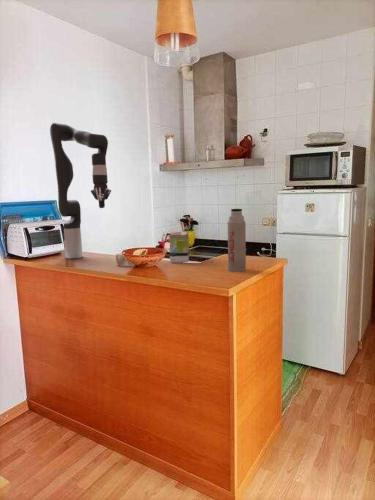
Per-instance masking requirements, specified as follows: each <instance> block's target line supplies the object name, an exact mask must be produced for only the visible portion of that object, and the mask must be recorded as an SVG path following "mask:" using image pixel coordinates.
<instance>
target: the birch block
mask: <svg viewBox="0 0 375 500" xmlns="http://www.w3.org/2000/svg"><path fill="white" fill-rule="evenodd" d="M122 252H123V251H121V252H119V253H116V254H115V260H116V261H115V262H116V266H117V265H120V266H119V267H122V266H123V267H124V266H125V267H135V266H134V265H133V264H132V263H130V262H129V261H128V260H127V259H125V257H124V256H123V255H122Z"/></svg>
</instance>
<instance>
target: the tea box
mask: <svg viewBox="0 0 375 500" xmlns="http://www.w3.org/2000/svg"><path fill="white" fill-rule="evenodd" d="M189 236H190V233H189V231H171V232H170V233H169V263H175V264H176V263H177V264H178V263H189V260H190V238H189Z"/></svg>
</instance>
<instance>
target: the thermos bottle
mask: <svg viewBox="0 0 375 500" xmlns="http://www.w3.org/2000/svg"><path fill="white" fill-rule="evenodd" d="M246 228H247V227H246V221H245V217H244V215H243V208H231V210H230V215H229V216H228V221H227V247H228V248H227V266H228V267H227V268H228V271H229V272H233V273H235V272H236V273H239V272H245V271H246V270H247V267H246V266H247V265H246V263H247V259H246V257H247V255H246V254H247V253H246V250H247V249H246V246H247V245H246V244H247V243H246V242H247V241H246V237H247V236H246V233H247V232H246V231H247V230H246Z"/></svg>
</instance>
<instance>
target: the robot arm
mask: <svg viewBox="0 0 375 500" xmlns="http://www.w3.org/2000/svg"><path fill="white" fill-rule="evenodd" d="M49 127H50V128H49V133H50V140H51V144H52V150H53V156H54V166H55V175H56V183H57V192H58V193H57V199H58V202H57V203H58V211H59V215H60V216H61V217H64V218H65V217H70V219H69V220H67V221H66V222H64V223H63V224H62V225H63V237H64V241H63V248H64V257H65V259H80V258H82V257H83V244H82V233H81V232H82V230H81V223H82V218H81V217H82V216H81V215H82V214H81V213H82V212H81V204H80V202H79V201H78V200H77V199H68V191H69V188H70V186H71V184H72V181H73V179H74V168H73V167H74V165H73V164H72V161H71V159H70V158H69V157H68V155H67V154H66V152H65V150H64V148H63V143H62V142H76V143H77V144H79V145H81V146H85V147H88V148H90V149H97V152H96V153H92V154H91V176H92V177H91V178H92V184H93V189H92V190H91V189H90V193H91V195H92V196H93V197H94V199H95V200H96V201H98V207H99V209H104V208H105V206H106V204H105V203H106V202H105V201H106V200H108V198H109V197H110V194H111V192H112V190H111V189H109V188H108V170H107V161H106V160H107V159H106V158H107V157H106V155H107V151H108V147H109V146H108V145H109V141H108V138H107V136H106V135H103V134H97V133H91V132H89V131H85V130H80V129H79V130H78V129H76V128H74V127H73V126H70V125H69V124H65V123H60V122H52V124H51V125H50V126H49Z"/></svg>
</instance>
